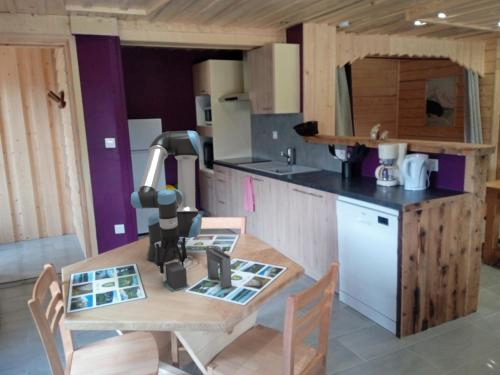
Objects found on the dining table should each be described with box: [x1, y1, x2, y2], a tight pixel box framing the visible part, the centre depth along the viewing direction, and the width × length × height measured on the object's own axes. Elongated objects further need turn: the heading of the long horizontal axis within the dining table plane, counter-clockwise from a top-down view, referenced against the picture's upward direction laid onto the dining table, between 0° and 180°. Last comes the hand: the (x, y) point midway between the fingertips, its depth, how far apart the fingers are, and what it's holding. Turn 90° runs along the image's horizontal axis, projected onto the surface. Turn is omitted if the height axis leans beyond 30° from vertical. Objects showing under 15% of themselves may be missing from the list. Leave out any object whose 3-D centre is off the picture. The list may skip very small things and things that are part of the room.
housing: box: [205, 248, 233, 289], centre depth 178 cm, size 14×4×13 cm, turn 34°
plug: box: [164, 261, 188, 290], centre depth 178 cm, size 6×12×8 cm, turn 34°
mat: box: [161, 281, 191, 292], centre depth 178 cm, size 11×8×1 cm
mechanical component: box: [203, 245, 227, 255], centre depth 196 cm, size 3×10×10 cm, turn 78°
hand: (172, 277), depth 180 cm, fingers open, 7 cm apart
